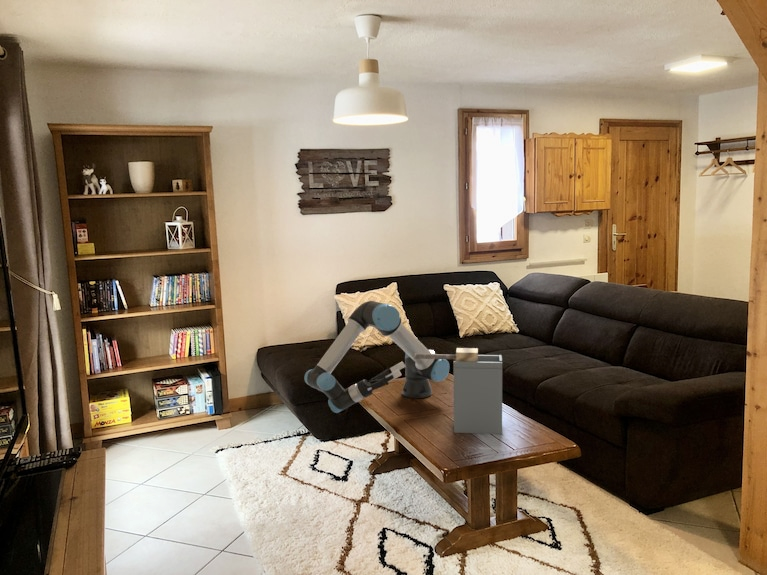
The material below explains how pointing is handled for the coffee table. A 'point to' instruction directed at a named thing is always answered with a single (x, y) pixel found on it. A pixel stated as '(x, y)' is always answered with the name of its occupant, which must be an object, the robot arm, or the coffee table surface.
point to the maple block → (461, 355)
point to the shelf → (478, 395)
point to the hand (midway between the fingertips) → (402, 367)
